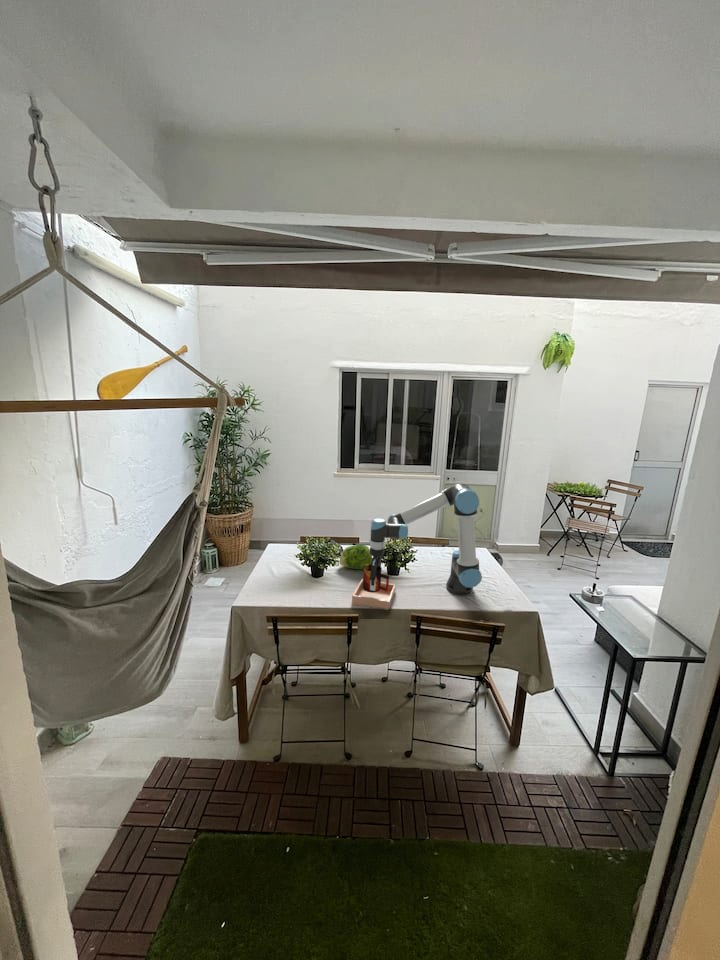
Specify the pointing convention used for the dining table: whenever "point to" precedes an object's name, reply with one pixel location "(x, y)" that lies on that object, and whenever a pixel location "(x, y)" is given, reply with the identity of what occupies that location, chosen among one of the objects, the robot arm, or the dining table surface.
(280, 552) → the dining table surface
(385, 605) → the tray
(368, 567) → the mug
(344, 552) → the lettuce
